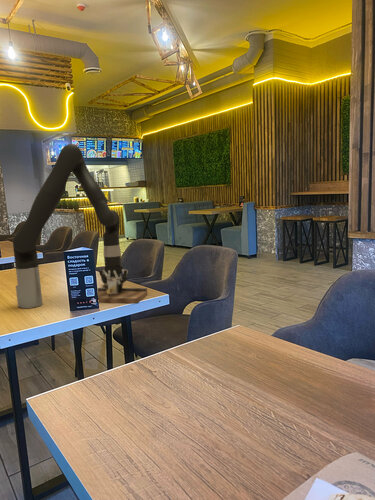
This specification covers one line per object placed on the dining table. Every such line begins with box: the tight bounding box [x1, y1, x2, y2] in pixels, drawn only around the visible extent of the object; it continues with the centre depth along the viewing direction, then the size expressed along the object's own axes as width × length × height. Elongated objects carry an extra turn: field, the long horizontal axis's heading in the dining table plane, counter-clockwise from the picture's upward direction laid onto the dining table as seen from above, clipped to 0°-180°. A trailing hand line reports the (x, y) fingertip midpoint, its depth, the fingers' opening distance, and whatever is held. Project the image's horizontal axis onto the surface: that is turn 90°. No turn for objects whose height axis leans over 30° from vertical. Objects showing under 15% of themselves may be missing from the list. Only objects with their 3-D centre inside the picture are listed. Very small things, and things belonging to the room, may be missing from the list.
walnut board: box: [97, 287, 148, 304], centre depth 174 cm, size 24×14×3 cm, turn 77°
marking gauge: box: [106, 279, 122, 296], centre depth 174 cm, size 4×10×6 cm, turn 167°
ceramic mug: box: [100, 272, 124, 288], centre depth 200 cm, size 11×8×8 cm
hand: (115, 291), depth 176 cm, fingers closed on marking gauge, 4 cm apart
